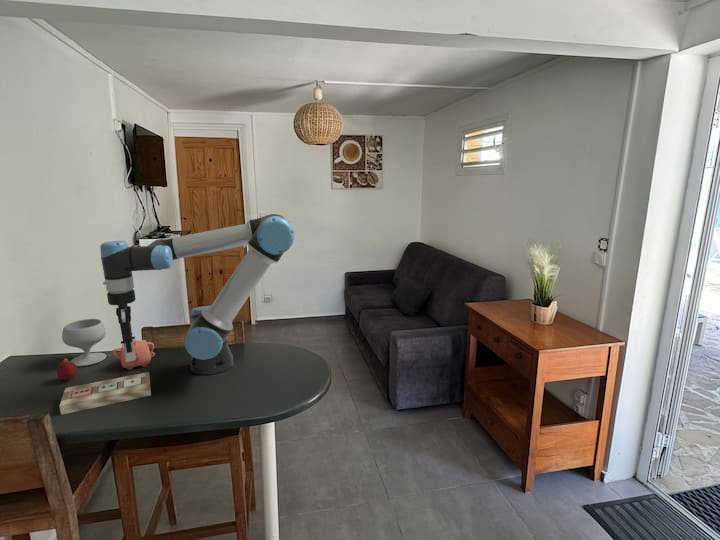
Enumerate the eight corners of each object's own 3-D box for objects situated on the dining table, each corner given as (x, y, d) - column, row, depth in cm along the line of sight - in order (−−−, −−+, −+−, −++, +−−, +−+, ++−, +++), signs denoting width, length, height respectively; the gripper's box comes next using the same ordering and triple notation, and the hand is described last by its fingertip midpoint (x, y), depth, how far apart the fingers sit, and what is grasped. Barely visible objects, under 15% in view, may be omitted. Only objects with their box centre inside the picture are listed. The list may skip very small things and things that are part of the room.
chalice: (62, 371, 150) (55, 332, 147) (71, 356, 162) (65, 320, 159) (106, 364, 155) (101, 327, 152) (111, 350, 168) (106, 315, 165)
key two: (118, 390, 136) (116, 381, 135) (117, 396, 132) (116, 387, 131) (100, 393, 134) (99, 384, 133) (99, 400, 129) (97, 391, 129)
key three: (93, 395, 133) (91, 386, 132) (91, 402, 128) (90, 393, 128) (74, 398, 130) (73, 389, 130) (72, 406, 126) (71, 396, 125)
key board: (149, 379, 143) (149, 372, 143) (150, 395, 133) (149, 387, 132) (67, 396, 132) (65, 388, 132) (61, 414, 122) (59, 405, 121)
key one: (141, 385, 139) (140, 376, 138) (142, 391, 135) (140, 382, 134) (125, 388, 137) (123, 379, 136) (124, 395, 132) (123, 386, 132)
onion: (67, 385, 140) (64, 363, 138) (53, 383, 141) (50, 361, 139) (82, 377, 145) (79, 356, 144) (68, 375, 146) (65, 354, 145)
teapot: (137, 374, 148) (134, 349, 146) (112, 369, 151) (108, 345, 149) (161, 360, 159) (159, 337, 156) (137, 356, 162) (134, 333, 160)
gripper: (107, 287, 132) (118, 355, 137) (105, 297, 121) (116, 370, 126) (134, 284, 136) (143, 350, 141) (134, 293, 125) (144, 365, 130)
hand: (130, 360), depth 134 cm, fingers closed
